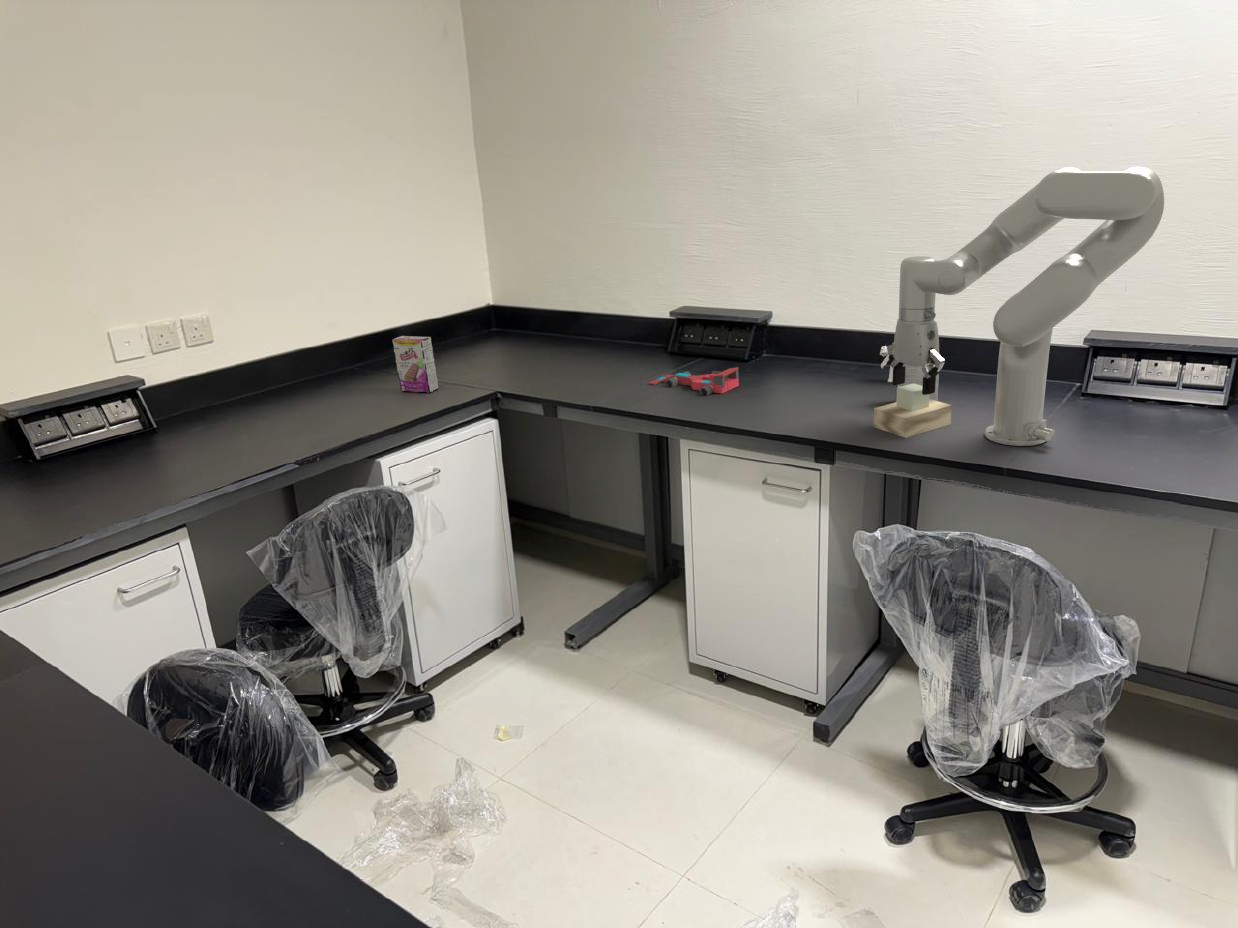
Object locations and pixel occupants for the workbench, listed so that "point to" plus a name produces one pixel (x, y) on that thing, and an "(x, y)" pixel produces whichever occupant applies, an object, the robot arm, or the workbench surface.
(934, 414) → the maple block
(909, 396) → the sage cube
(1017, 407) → the robot arm
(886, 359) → the hat wearing toy figure
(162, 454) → the workbench surface
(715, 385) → the race car
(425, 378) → the candy bar box
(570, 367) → the workbench surface
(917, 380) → the ink cartridge box
